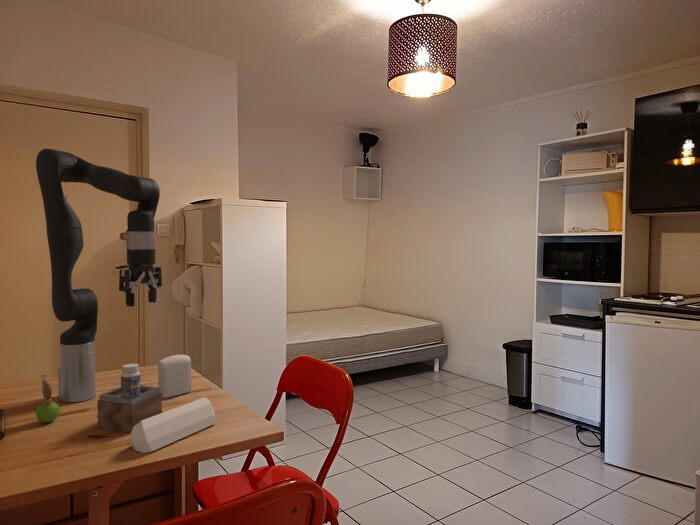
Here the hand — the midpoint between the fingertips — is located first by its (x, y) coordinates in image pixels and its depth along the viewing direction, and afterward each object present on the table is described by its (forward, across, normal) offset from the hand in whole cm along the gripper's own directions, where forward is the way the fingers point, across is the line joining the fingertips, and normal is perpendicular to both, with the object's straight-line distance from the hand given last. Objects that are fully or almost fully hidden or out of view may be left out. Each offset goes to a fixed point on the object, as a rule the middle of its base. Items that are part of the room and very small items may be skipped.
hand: (141, 304), depth 139 cm
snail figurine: (+30, +17, -16) cm, 38 cm away
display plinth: (+30, +10, +5) cm, 32 cm away
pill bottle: (+23, +10, +5) cm, 26 cm away
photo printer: (+30, -13, +1) cm, 33 cm away
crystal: (+31, +12, +21) cm, 39 cm away
